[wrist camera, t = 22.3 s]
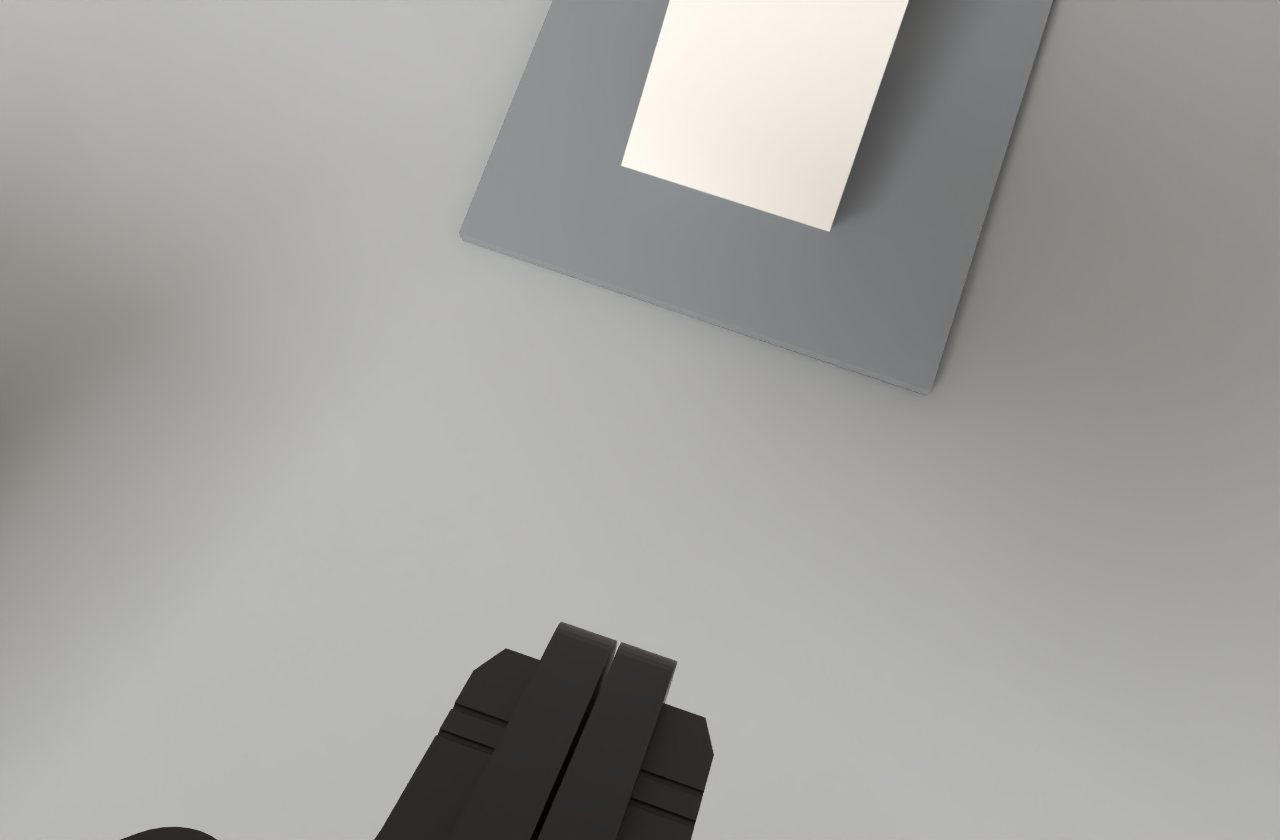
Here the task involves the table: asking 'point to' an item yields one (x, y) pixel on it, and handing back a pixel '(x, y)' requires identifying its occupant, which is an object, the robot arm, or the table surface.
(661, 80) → the ivory tile
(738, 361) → the table surface
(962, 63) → the slate mat
